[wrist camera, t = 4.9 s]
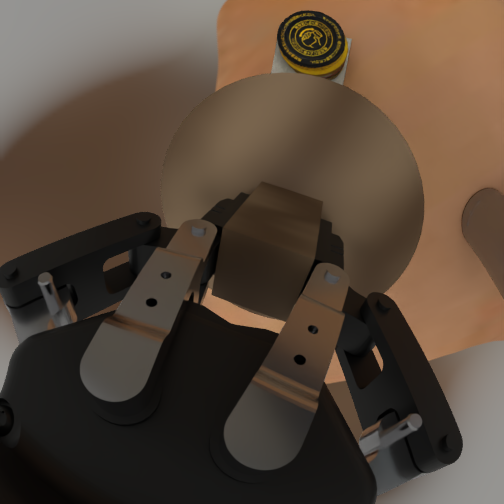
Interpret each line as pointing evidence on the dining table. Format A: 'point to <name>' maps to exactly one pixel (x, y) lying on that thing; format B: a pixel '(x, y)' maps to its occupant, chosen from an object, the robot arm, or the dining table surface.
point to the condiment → (312, 46)
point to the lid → (295, 186)
